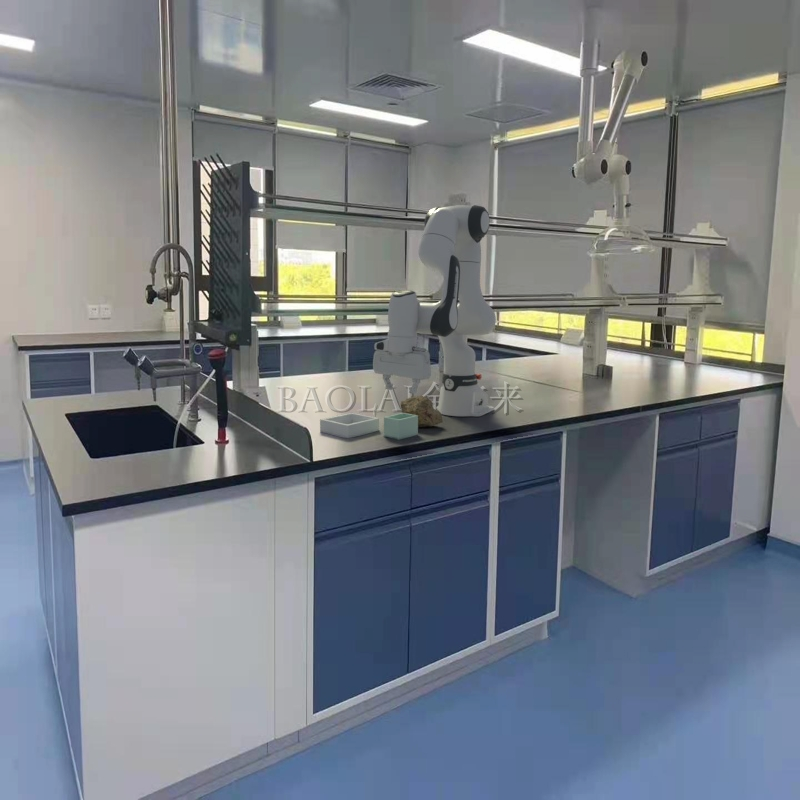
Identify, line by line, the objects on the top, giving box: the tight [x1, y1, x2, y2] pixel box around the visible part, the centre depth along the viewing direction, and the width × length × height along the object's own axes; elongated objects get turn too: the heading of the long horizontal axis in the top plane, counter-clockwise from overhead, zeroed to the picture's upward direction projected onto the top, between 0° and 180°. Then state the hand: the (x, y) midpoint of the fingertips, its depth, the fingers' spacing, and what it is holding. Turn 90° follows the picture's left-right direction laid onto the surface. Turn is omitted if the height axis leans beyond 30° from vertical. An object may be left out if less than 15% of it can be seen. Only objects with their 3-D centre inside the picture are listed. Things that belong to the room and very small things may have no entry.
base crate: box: [319, 412, 380, 440], centre depth 207 cm, size 14×12×4 cm
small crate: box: [383, 412, 419, 441], centre depth 203 cm, size 9×6×6 cm, turn 140°
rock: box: [400, 395, 443, 428], centre depth 217 cm, size 11×12×10 cm
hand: (400, 391), depth 201 cm, fingers open, 8 cm apart
